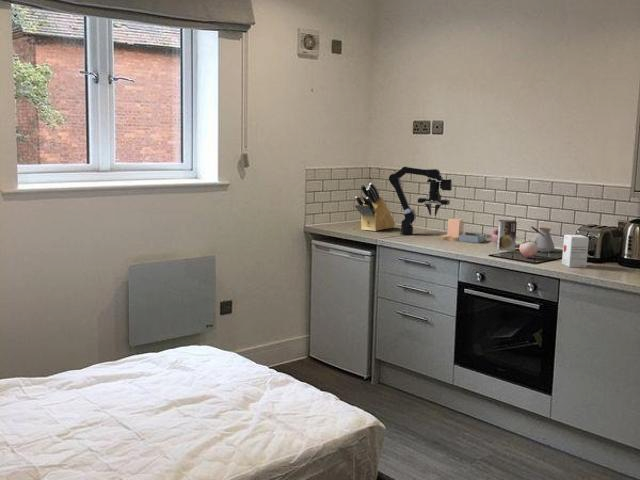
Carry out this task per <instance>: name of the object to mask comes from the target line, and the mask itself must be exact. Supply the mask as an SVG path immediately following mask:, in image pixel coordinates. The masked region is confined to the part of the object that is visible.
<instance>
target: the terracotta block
mask: <svg viewBox="0 0 640 480" xmlns="http://www.w3.org/2000/svg"><path fill="white" fill-rule="evenodd" d="M463 223H464V219H461V218H449V219H447V231H446V234H447V236H451V237H459V235H463V227H464V225H463Z"/></svg>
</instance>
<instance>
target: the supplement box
mask: <svg viewBox="0 0 640 480" xmlns="http://www.w3.org/2000/svg"><path fill="white" fill-rule="evenodd" d="M589 240H590V237H588V236H585V235H582V234H564V236H563V245H562V256H561V257H562V258H561V264H562V265H563V266H566V267H568V268H587V264H588V263H587V261H588V250H589V242H590V241H589Z"/></svg>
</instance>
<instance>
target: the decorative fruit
mask: <svg viewBox="0 0 640 480" xmlns="http://www.w3.org/2000/svg"><path fill="white" fill-rule="evenodd" d="M534 242H535V240H531V239H530V238H529V240H523V241H521V242H520V245H519V252H520V253H521V255H522V256H524V257H525V258H526V257H527V258H526V259H530V258H532V257H534V256H535V255H536V254H537V253H538V252H537V251H538V246H537V245H536V244H537V243H536V242H535V243H534Z"/></svg>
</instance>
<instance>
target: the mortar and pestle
mask: <svg viewBox="0 0 640 480" xmlns="http://www.w3.org/2000/svg"><path fill="white" fill-rule="evenodd" d="M491 240H492V242H493V243H494V244H495V245H497V243H498V227H496V228H493V230H492V231H491Z"/></svg>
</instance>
